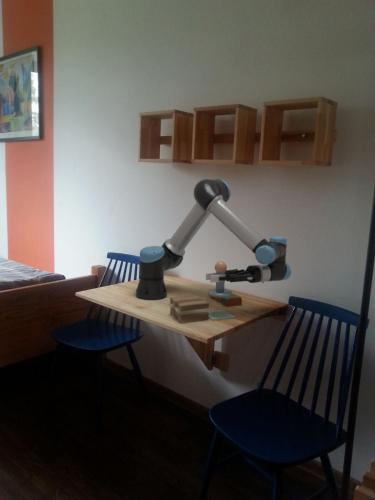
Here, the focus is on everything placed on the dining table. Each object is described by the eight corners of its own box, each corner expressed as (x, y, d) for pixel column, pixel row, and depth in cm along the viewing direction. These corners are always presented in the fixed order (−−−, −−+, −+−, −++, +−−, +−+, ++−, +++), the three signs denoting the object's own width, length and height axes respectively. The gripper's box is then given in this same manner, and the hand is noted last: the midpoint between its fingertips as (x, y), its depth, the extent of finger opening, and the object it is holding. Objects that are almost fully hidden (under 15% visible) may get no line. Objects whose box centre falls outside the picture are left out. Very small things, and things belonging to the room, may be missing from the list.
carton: (225, 296, 206) (225, 288, 206) (242, 306, 192) (242, 296, 191) (209, 298, 203) (210, 289, 202) (226, 307, 189) (226, 298, 188)
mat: (202, 312, 179) (202, 312, 179) (222, 310, 183) (223, 309, 183) (212, 320, 170) (212, 319, 170) (234, 317, 174) (234, 316, 174)
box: (169, 314, 177) (170, 297, 176) (196, 311, 182) (196, 295, 180) (180, 323, 166) (181, 306, 165) (208, 320, 171) (209, 303, 169)
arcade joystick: (203, 292, 178) (204, 259, 175) (224, 290, 182) (225, 258, 179) (214, 298, 169) (215, 264, 166) (236, 296, 172) (237, 262, 170)
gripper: (268, 286, 174) (217, 291, 165) (246, 278, 189) (199, 282, 180) (269, 269, 173) (218, 273, 164) (247, 261, 188) (200, 264, 179)
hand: (208, 277), depth 172 cm, fingers closed on arcade joystick, 4 cm apart
